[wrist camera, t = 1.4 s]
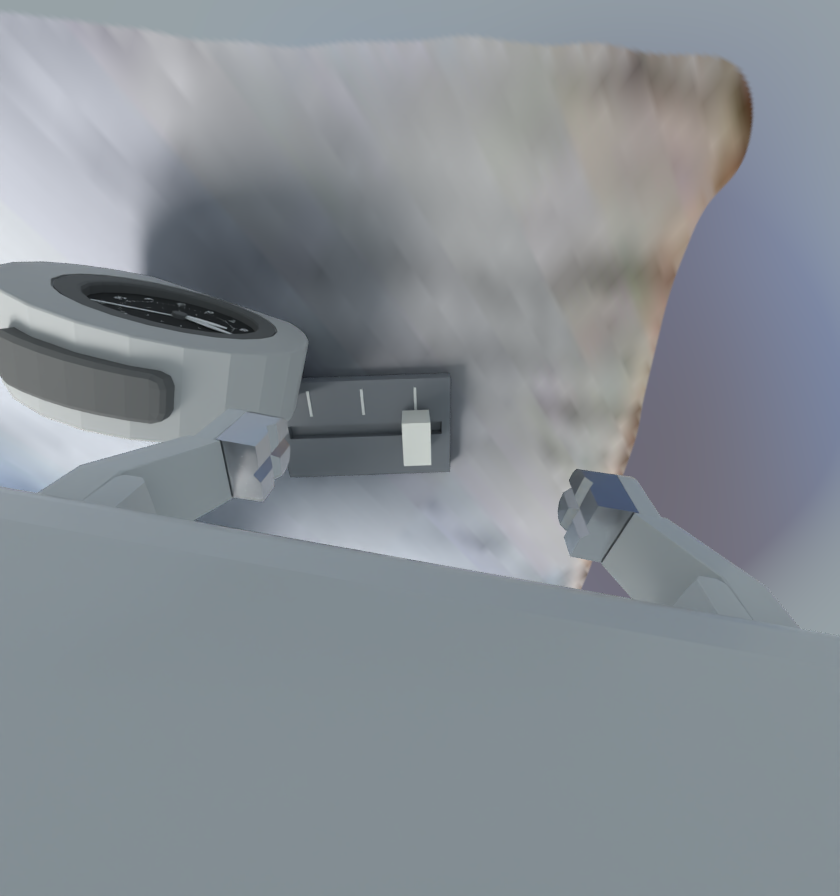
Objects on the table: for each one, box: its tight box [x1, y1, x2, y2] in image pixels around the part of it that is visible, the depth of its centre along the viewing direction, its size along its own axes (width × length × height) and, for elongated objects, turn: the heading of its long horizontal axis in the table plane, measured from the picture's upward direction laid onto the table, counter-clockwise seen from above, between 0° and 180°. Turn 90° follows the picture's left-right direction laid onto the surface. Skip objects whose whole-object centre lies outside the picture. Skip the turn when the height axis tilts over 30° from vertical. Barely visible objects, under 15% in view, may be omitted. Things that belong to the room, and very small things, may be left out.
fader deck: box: [284, 373, 451, 477], centre depth 43 cm, size 12×20×2 cm, turn 92°
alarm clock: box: [0, 262, 309, 442], centre depth 30 cm, size 21×8×20 cm, turn 71°
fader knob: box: [402, 410, 431, 466], centre depth 40 cm, size 5×3×5 cm, turn 2°
